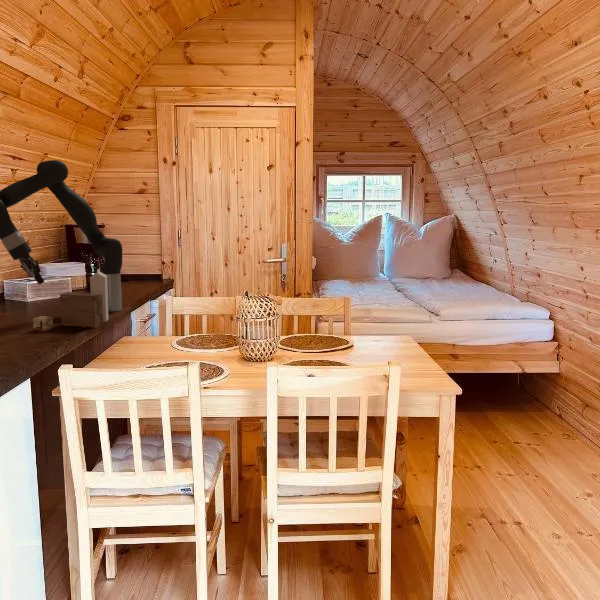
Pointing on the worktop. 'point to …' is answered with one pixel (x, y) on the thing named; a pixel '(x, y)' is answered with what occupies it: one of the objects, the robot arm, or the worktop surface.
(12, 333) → the worktop surface
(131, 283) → the worktop surface
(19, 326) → the worktop surface
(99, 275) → the milk
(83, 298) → the walnut panel
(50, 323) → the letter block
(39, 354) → the worktop surface
